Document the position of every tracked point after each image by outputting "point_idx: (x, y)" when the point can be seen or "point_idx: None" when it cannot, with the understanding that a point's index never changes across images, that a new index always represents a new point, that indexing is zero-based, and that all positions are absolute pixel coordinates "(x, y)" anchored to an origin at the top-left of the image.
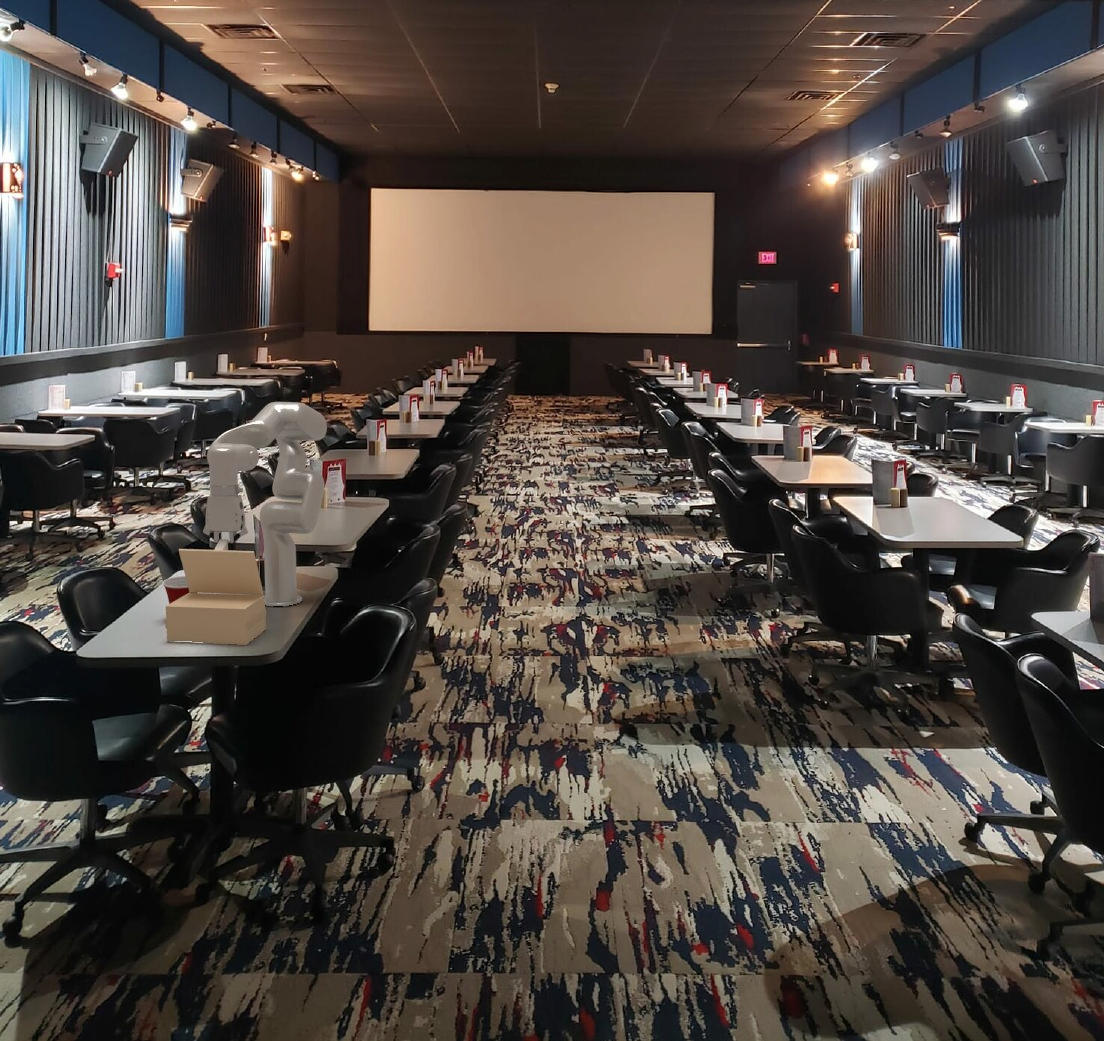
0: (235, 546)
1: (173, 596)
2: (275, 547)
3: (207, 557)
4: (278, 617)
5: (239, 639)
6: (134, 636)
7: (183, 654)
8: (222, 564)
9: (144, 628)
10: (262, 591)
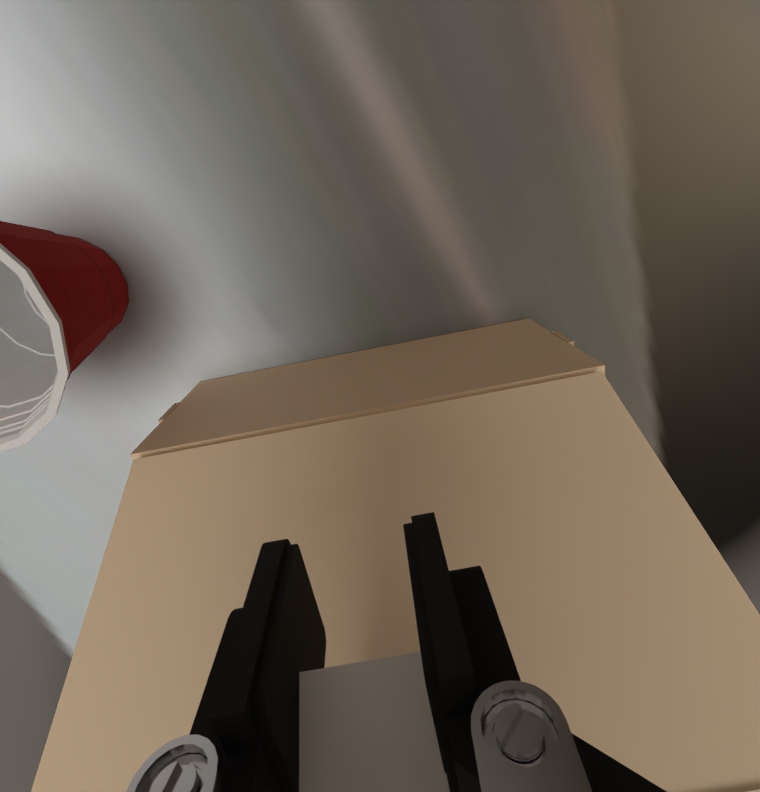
0: (505, 640)
1: (5, 403)
2: None
3: None
4: (492, 64)
5: None
6: (106, 547)
7: None
8: None
9: (44, 454)
10: (610, 389)
